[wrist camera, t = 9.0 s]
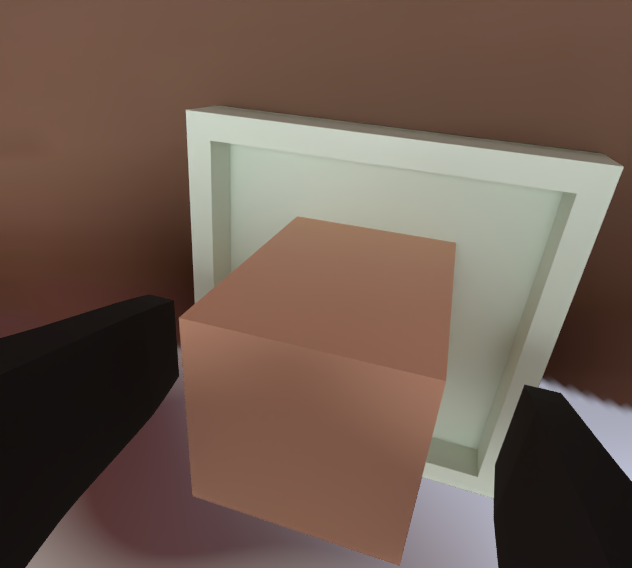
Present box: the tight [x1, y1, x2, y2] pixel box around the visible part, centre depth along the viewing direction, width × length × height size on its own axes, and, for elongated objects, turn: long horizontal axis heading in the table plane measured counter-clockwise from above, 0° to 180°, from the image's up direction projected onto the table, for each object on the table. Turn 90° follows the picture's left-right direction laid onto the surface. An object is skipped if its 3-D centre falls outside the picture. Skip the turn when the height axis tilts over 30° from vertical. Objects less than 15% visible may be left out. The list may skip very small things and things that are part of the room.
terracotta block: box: [179, 216, 456, 565], centre depth 10 cm, size 4×4×6 cm
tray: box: [186, 105, 624, 498], centre depth 12 cm, size 9×9×2 cm
